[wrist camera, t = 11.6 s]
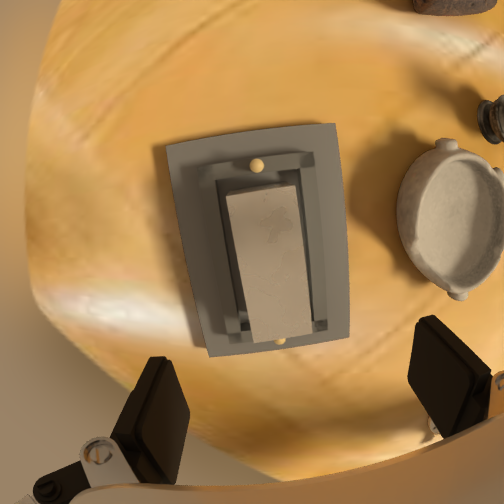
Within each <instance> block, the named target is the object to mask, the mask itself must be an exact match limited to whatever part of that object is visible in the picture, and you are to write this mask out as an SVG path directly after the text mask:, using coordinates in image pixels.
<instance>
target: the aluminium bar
mask: <svg viewBox="0 0 504 504" xmlns="http://www.w3.org/2000/svg"><path fill="white" fill-rule="evenodd" d="M226 200H227V206H228V211H229V217H230V222H231V228H232V233H233V238H234V244H235V249H236V254H237V260H238V265H239V270H240V275H241V281H242V286H243V291H244V296H245V301H246V306H247V311H248V316H249V321H250V326H251V331H252V336H253V341H254V343H258V342H265V341H272V340H278V339H284V338H290V337H295V336H301V335H306V334H312V321H311V311H310V300H309V290H308V281H307V272H306V263H305V255H304V246H303V238H302V231H301V223H300V216H299V208H298V201H297V194H296V188H295V185H293V184H290V183H288V182H280V183H273V184H267V185H261V186H255V187H249V188H243V189H237V190H231V191H230V192H229V193H228V194H227V196H226Z"/></svg>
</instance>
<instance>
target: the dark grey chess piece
mask: <svg viewBox="0 0 504 504" xmlns="http://www.w3.org/2000/svg"><path fill="white" fill-rule="evenodd" d="M477 117H478V123H479V127H480V130H481V132H482V134H483V136H484V137H485V139H486V140H487V141H488V142H490V143H491V144H499V143H500V142H502V141H503V142H504V95H501V96H500V97H499V98H498V99H497V100H495V101H494V102H491V101H488V100H486V101H483V102H481V104H480V105H479V108H478V114H477Z"/></svg>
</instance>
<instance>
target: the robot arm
mask: <svg viewBox="0 0 504 504" xmlns="http://www.w3.org/2000/svg"><path fill="white" fill-rule="evenodd" d="M490 373H491V369H490V368H489V367H488V366H487V365H486V364H485V363H484V362H483V361H482V360H481V359H480V358H479V357H478V356H477V355H476V354H475V353H474V352H473V351H472V350H471V349H470V348H469V347H468V346H467V345H466V344H465V343H464V342H463V341H462V340H461V339H459V338H458V337H457V336H456V335H455V334H454V333H453V332H452V331H451V330H450V329H449V328H448V327H447V326H446V325H445V324H443V323H442V322H441V321H440V320H439V319H438V318H437V317H436V316H435V315H429V316H426V317H422V318H420V319H419V322H417V323H416V325H415V332H414V339H413V346H412V353H411V359H410V365H409V370H408V376H407V377H408V382H409V384H410V386H411V388H412V389H413V391H414V392H415V394H416V395H417V397H418V399H419V400H420V402H421V403H422V405H423V406H424V408H425V410H426V411H427V413H428V415H429V419H428V426H429V428H430V430H431V431H432V432H433V433H436V434H441V436H442V437H443V438H444V439H443V440H441V441H438V442H436V443H434V444H431V445H429V446H426V447H423V448H421V449H418V450H415V451H413V452H410V453H407V454H404V455H401V456H398V457H395V458H392V459H389V460H385V461H382V462H379V463H375V464H372V465H368V466H364V467H360V468H356V469H352V470H348V471H344V472H339V473H334V474H329V475H324V476H319V477H313V478H307V479H300V480H293V481H285V482H277V483H266V484H254V485H236V486H188V485H174V484H175V483H176V479H177V474H178V470H179V465H180V461H181V456H182V451H183V446H184V442H185V437H186V433H187V428H188V424H189V419H190V411H189V408H188V405H187V402H186V400H185V397H184V395H183V392H182V389H181V386H180V384H179V381H178V378H177V375H176V372H175V370H174V367H173V364H172V361H171V360H167V358H166V357H165V356H159V357H150V358H149V360H148V362H147V364H146V366H145V368H144V370H143V372H142V374H141V376H140V378H139V380H138V382H137V384H136V386H135V388H134V390H133V391H132V392H131V393H130V395H129V397H128V399H127V401H126V404H125V406H124V408H123V410H122V412H121V414H120V416H119V419H118V421H117V423H116V425H115V427H114V429H113V432H112V433H111V436H110V438H108V437H96V438H93V439H91V440H89V441H87V442H86V443H85V444H84V445H83V447H82V448H81V450H80V454H79V455H80V461H78V462H76V463H73V464H71V465H69V466H66V467H64V468H62V469H59V470H57V471H55V472H52V473H50V474H47V475H45V476H43V477H41V478H39V479H38V480H37V481H36V483H35V485H34V487H33V495H32V496H30V495H28V494H27V495H26V496H25V497H24V498H22V499H21V500H19V501H18V502H17V503H15V504H504V371H500V372H498V373H496V374H495V375H494V376H492V375H491V374H490Z"/></svg>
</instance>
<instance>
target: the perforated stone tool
mask: <svg viewBox="0 0 504 504" xmlns="http://www.w3.org/2000/svg"><path fill="white" fill-rule="evenodd" d="M496 3H497V0H413V5H414V9H415V10H416V12H417V13H419V14H426V15H436V16H462V15H471V14H478V13H483V12H486V11H488V10H490V9H492V8H493V7H494V6H495V5H496Z"/></svg>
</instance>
